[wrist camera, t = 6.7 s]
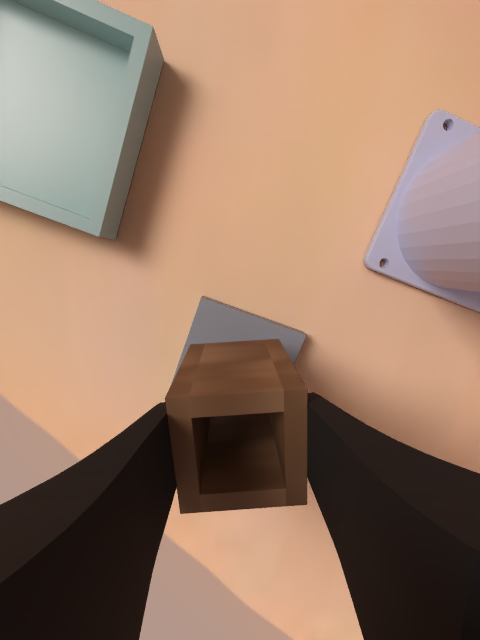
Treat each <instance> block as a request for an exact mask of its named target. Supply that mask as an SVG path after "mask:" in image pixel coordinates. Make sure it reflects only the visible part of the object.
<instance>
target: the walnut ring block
mask: <svg viewBox="0 0 480 640" xmlns="http://www.w3.org/2000/svg"><path fill="white" fill-rule="evenodd" d="M165 402H166V410H167V417H168V425H169V432H170V440H171V447H172V455H173V462H174V470H175V477H176V485H177V493H178V500H179V508H180V514H184V513H198V512H212V511H226V510H239V509H253V508H267V507H281V506H295V505H307V388H306V386H305V384H304V382H303V380H302V379H301V377H300V375H299V373H298V372H297V370H296V368H295V366H294V365H293V363H292V361H291V359H290V358H289V356H288V354H287V352H286V350H285V349H284V347H283V345H282V343H281V342H280V340H279V339H267V340H251V341H235V342H219V343H203V344H190V346H189V348H188V351H187V353H186V355H185V357H184V359H183V361H182V363H181V365H180V368H179V370H178V372H177V374H176V376H175V378H174V380H173V382H172V384H171V387H170V389H169V391H168V393H167V395H166V397H165Z"/></svg>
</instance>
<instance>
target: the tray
mask: <svg viewBox="0 0 480 640" xmlns="http://www.w3.org/2000/svg"><path fill="white" fill-rule="evenodd" d="M163 62H164V58H163V55H162V52H161V49H160V46H159V43H158V40H157V37H156V34H155V31H154V28H153V26H151V25H149V24H147V23H144V22H142V21H140V20H138V19H136V18H133V17H131V16H129V15H127V14H125V13H122V12H120V11H118V10H116V9H114V8H111V7H109V6H107V5H105V4H103V3H100V2H98V1H96V0H0V201H3V202H5V203H8V204H11V205H13V206H16V207H19V208H22V209H24V210H27V211H30V212H33V213H35V214H38V215H41V216H43V217H46V218H49V219H52V220H54V221H57V222H60V223H62V224H65V225H68V226H71V227H73V228H76V229H79V230H82V231H84V232H87V233H90V234H92V235H95V236H98V237H102V238H107V239H112V240H116V236H117V232H118V229H119V225H120V221H121V218H122V214H123V210H124V206H125V203H126V199H127V195H128V192H129V188H130V184H131V180H132V177H133V173H134V169H135V166H136V162H137V158H138V154H139V151H140V147H141V143H142V140H143V136H144V132H145V128H146V125H147V121H148V117H149V114H150V110H151V106H152V102H153V99H154V95H155V91H156V88H157V84H158V80H159V76H160V73H161V69H162V65H163Z"/></svg>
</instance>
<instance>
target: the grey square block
mask: <svg viewBox="0 0 480 640" xmlns="http://www.w3.org/2000/svg"><path fill="white" fill-rule="evenodd" d="M305 338H306V334H305V333H304V332H302V331H299V330H297V329H294V328H291V327H288V326H286V325H283V324H280V323H277V322H274V321H272V320H269V319H266V318H263V317H261V316H258V315H255V314H252V313H249V312H247V311H244V310H241V309H238V308H235V307H233V306H230V305H227V304H224V303H222V302H219V301H216V300H213V299H210V298H208V297H205V296H202V297H201V300H200V303H199V306H198V308H197V311H196V314H195V317H194V320H193V323H192V326H191V329H190V332H189V335H188V338H187V341H186V344H185V346H184V349H183V352H182V355H181V358H180V361H179V364H178V367H177V370H176V373H175V376H176V374H177V372H178V370H179V368H180V365H181V363H182V361H183V359H184V357H185V355H186V353H187V351H188V348H189V346H190V344H203V343H219V342H235V341H251V340H267V339H279V340H280V342H281V343H282V345H283V347H284V349H285V350H286V352H287V354H288V356H289V358H290V359H291V361H292V363H293V365H294V363H295V361H296V359H297V356H298V354H299V352H300V349H301V347H302V345H303V342H304V340H305ZM175 376H174V378H175ZM173 380H174V379H173Z"/></svg>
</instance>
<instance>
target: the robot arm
mask: <svg viewBox="0 0 480 640" xmlns="http://www.w3.org/2000/svg"><path fill="white" fill-rule="evenodd" d="M443 123H445V124H446V125H447V131H445V130H444V129H443ZM381 259H384V261H385V265H384V266H383V267H382V268H381V267H380V265H379V263H380V261H381ZM363 261H364V265H365V267H367V268H368V269H370V270H373V271H375V272H378V273H380V274H383V275H385V276H388V277H391V278H393V279H396V280H398V281H401V282H403V283H406V284H408V285H411V286H413V287H416V288H418V289H421V290H423V291H426V292H428V293H431V294H434V295H436V296H439V297H441V298H444V299H446V300H449V301H451V302H454V303H456V304H459V305H461V306H464V307H466V308H469V309H471V310H474V311H477V312H479V313H480V127H478V126H476V125H474V124H471V123H469V122H467V121H465V120H463V119H461V118H459V117H457V116H455V115H453V114H450V113H448V112H446V111H444V110H436V111H434V112H433V113H432V114H430V115H429V116H428V117H427V118H426V120H425V122H424V124H423V126H422V129H421V131H420V133H419V135H418V138H417V140H416V142H415V144H414V147H413V149H412V151H411V153H410V156H409V158H408V160H407V162H406V165H405V167H404V169H403V171H402V173H401V176H400V178H399V180H398V182H397V185H396V187H395V189H394V191H393V194H392V196H391V198H390V200H389V203H388V205H387V207H386V209H385V212H384V214H383V216H382V218H381V221H380V223H379V225H378V227H377V229H376V232H375V234H374V236H373V238H372V241H371V243H370V245H369V247H368V250H367V252H366V254H365V256H364V260H363ZM307 477H308V480H309V482H310V485H311V487H312V490H313V492H314V495H315V497H316V500H317V502H318V505H319V507H320V510H321V512H322V515H323V517H324V520H325V522H326V525H327V527H328V530H329V532H330V535H331V537H332V540H333V542H334V545H335V548H336V551H337V553H338V556H339V559H340V562H341V565H342V569H343V572H344V575H345V578H346V582H347V585H348V588H349V591H350V594H351V598H352V601H353V604H354V608H355V611H356V614H357V618H358V621H359V625H360V628H361V631H362V635H363V638H364V640H480V474H479V473H476V472H473V471H470V470H467V469H465V468H462V467H459V466H457V465H454V464H451V463H449V462H446V461H443V460H441V459H438V458H436V457H433V456H431V455H428V454H426V453H423V452H421V451H419V450H417V449H414V448H412V447H410V446H408V445H406V444H403V443H401V442H399V441H397V440H395V439H393V438H391V437H389V436H387V435H385V434H383V433H381V432H379V431H377V430H376V429H374V428H372V427H370V426H368V425H366V424H365V423H363V422H361V421H360V420H358V419H356V418H355V417H353V416H351V415H350V414H348V413H346V412H345V411H343V410H342V409H340V408H338V407H337V406H335V405H334V404H332V403H331V402H329V401H328V400H326V399H324V398H323V397H321V396H319V395H318V394H316V393H307ZM176 487H177V485H176V477H175V470H174V462H173V455H172V447H171V440H170V432H169V425H168V417H167V410H166V402H164V403H159V404H157V405H156V406H155V407H153V408H152V409H151V410H149V411H148V412H147V413H146V414H144V415H143V416H142V417H140V418H139V419H138V420H137V421H135V422H134V423H133V424H132V425H130V426H129V427H128V428H126V429H125V430H124V431H123V432H121V433H120V434H118V435H117V436H116V437H114V438H113V439H111V440H110V441H109V442H107V443H106V444H104V445H103V446H102V447H100V448H99V449H97V450H96V451H95V452H93V453H92V454H90V455H89V456H87V457H86V458H84V459H82V460H81V461H79V462H78V463H76V464H74V465H73V466H71V467H70V468H68V469H66V470H65V471H63V472H61V473H60V474H58V475H56V476H54V477H53V478H51V479H49V480H47V481H45V482H44V483H41V484H39V485H38V486H36V487H34V488H32V489H30V490H28V491H26V492H24V493H22V494H21V495H19V496H17V497H15V498H13V499H11V500H9V501H7V502H5V503H3V504H1V505H0V640H139V636H140V632H141V626H142V621H143V616H144V611H145V606H146V601H147V596H148V591H149V586H150V581H151V577H152V572H153V568H154V564H155V560H156V556H157V552H158V549H159V546H160V542H161V539H162V535H163V532H164V529H165V525H166V522H167V518H168V515H169V511H170V508H171V505H172V501H173V498H174V494H175V491H176Z"/></svg>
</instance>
